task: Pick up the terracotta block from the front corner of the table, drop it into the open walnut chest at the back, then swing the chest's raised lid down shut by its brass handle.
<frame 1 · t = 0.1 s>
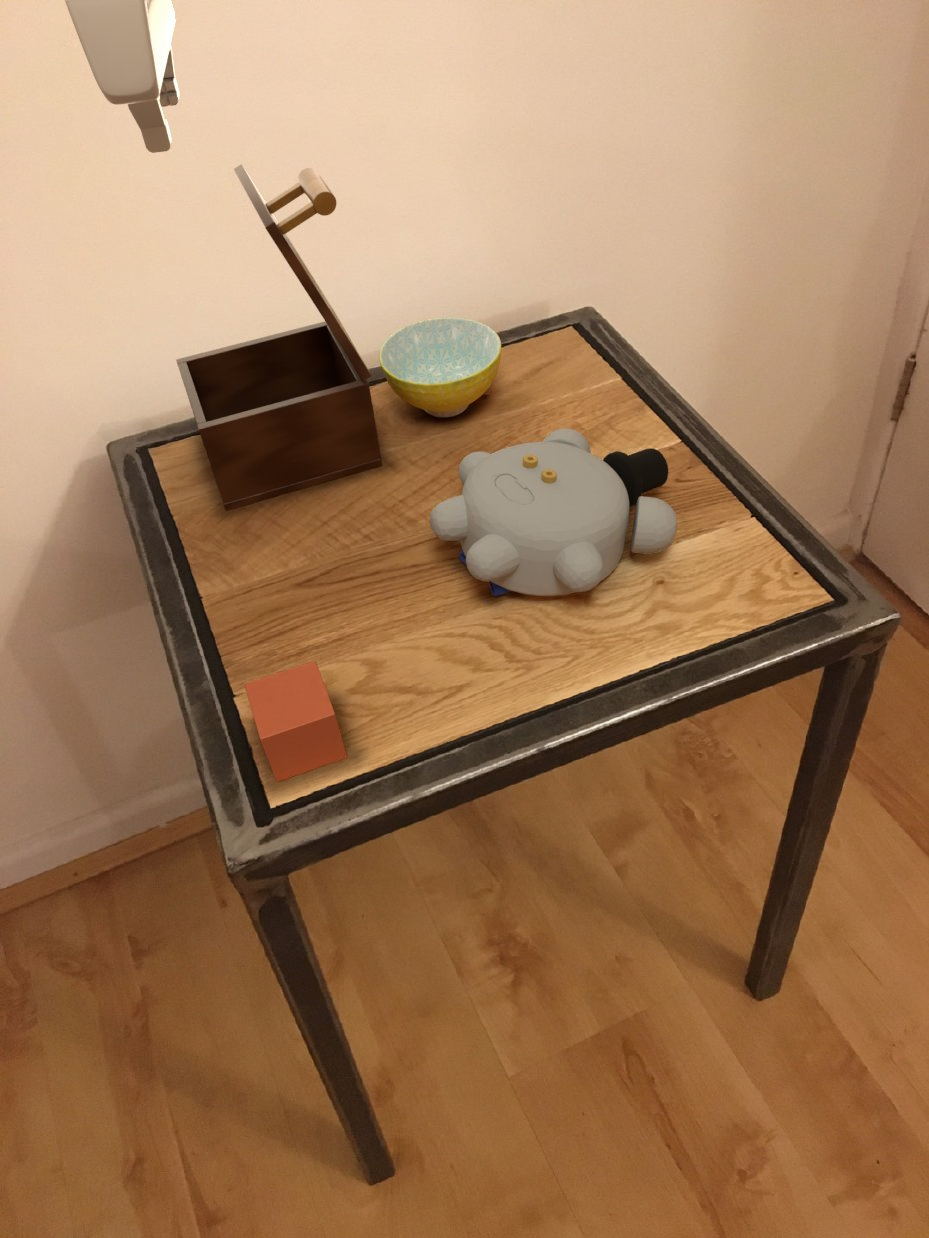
hand: (165, 125, 74), 27 cm above the table, tool pointing down, fingers open, 8 cm apart
figurine: (559, 542, 79), on the table
lid: (329, 259, 78), point 17 cm above the table, hinge at 70.0°
chest: (290, 452, 90), on the table
bowl: (445, 406, 93), on the table
block: (303, 742, 67), on the table
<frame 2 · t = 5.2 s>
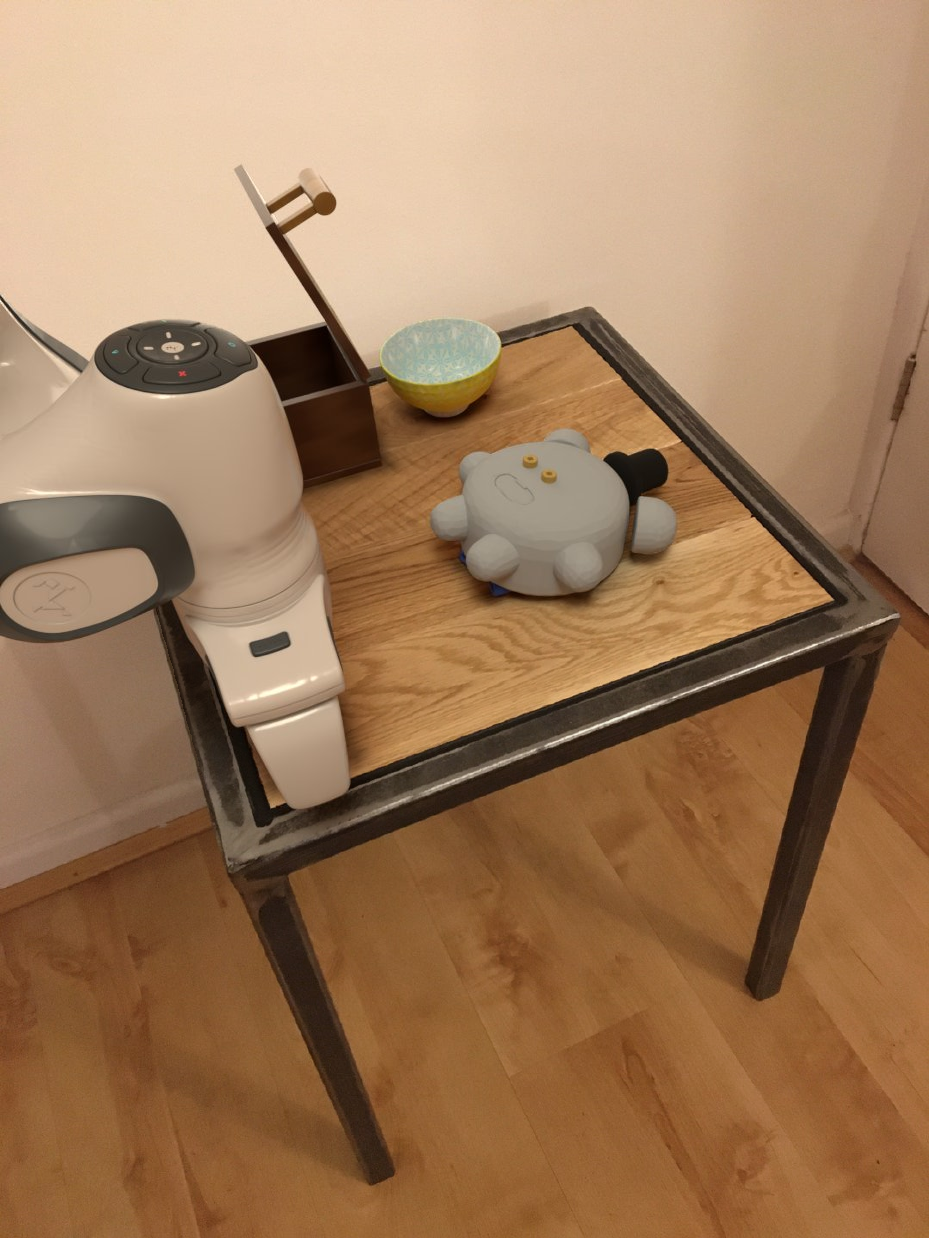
hand: (298, 728, 66), 2 cm above the table, tool pointing down, fingers closed on block, 5 cm apart
block: (303, 742, 67), on the table, touching gripper
everything else where it was.
when the fingers open (9 cm above the table, at t = 14.6 s): block stays where it is, resting on chest.
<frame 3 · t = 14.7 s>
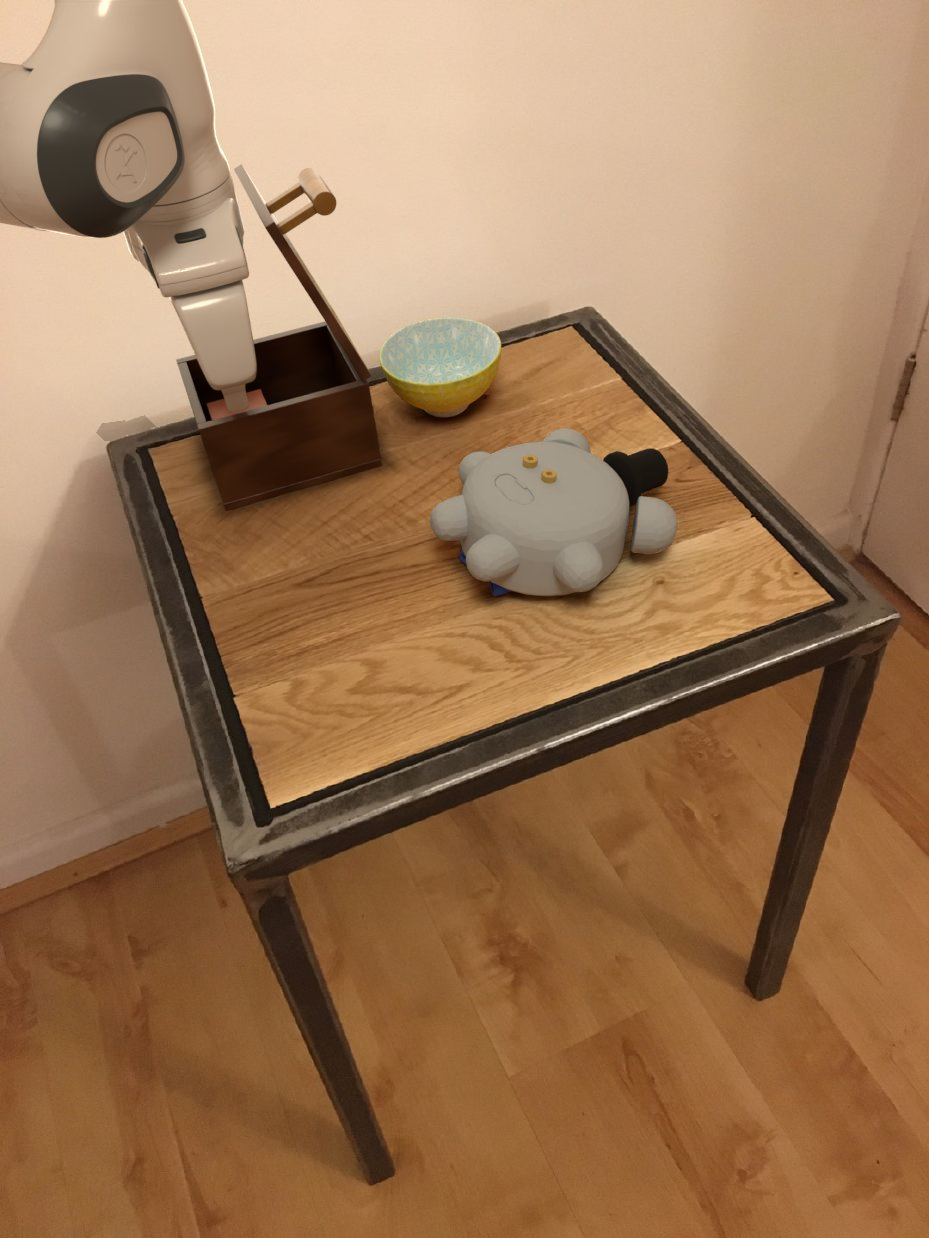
hand: (226, 377, 82), 9 cm above the table, tool pointing down, fingers open, 8 cm apart
block: (252, 455, 88), point 1 cm above the table, touching chest
everything else where it was.
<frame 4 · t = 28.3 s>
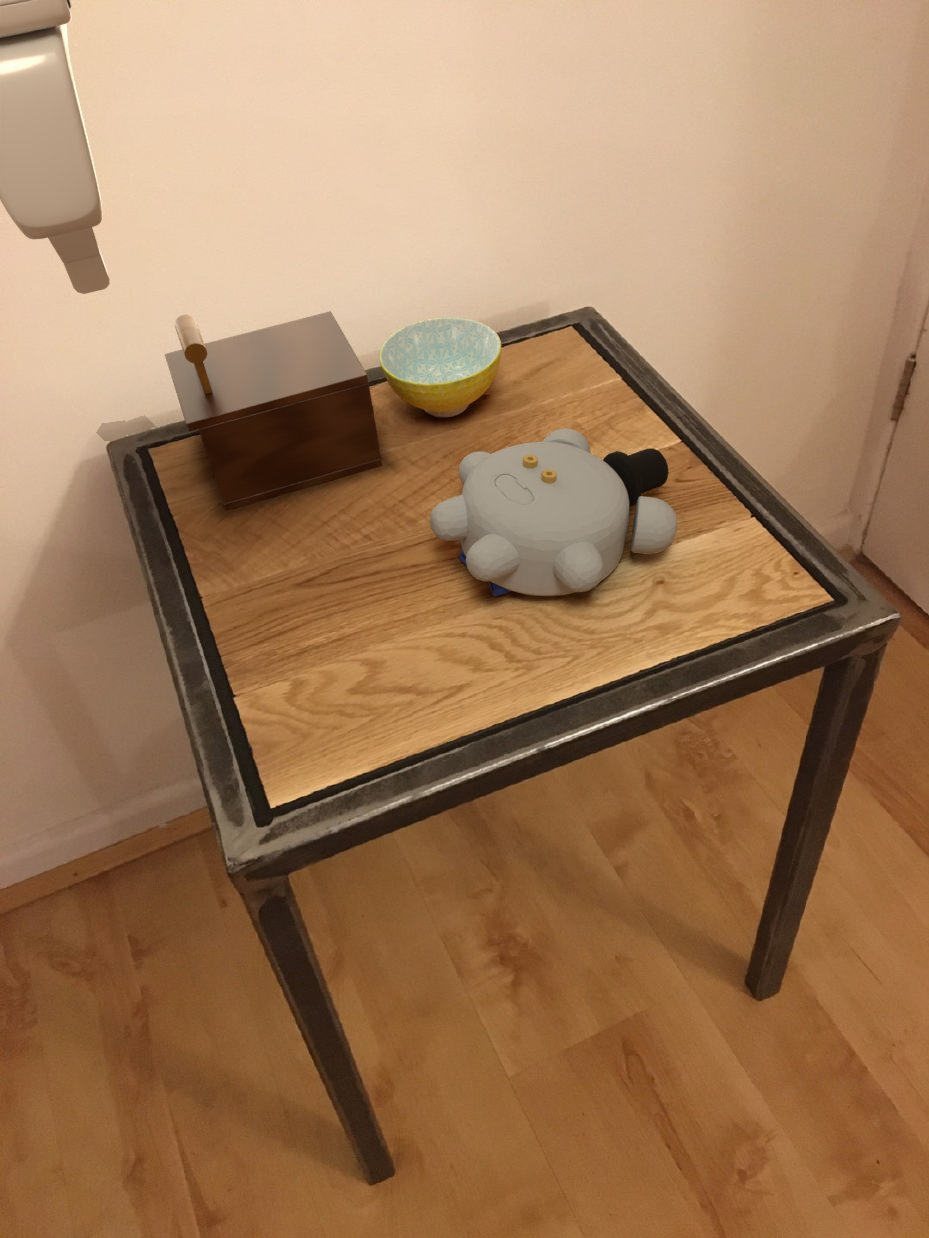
hand: (84, 247, 52), 31 cm above the table, tool pointing down, fingers open, 8 cm apart
lid: (257, 343, 81), point 12 cm above the table, hinge at -0.2°, touching chest
everything else where it was.
at the end: block inside the target area in the chest (3.4 cm from its centre), point 0.8 cm above the chest's base; lid at +0° (first picture: +70°) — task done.
